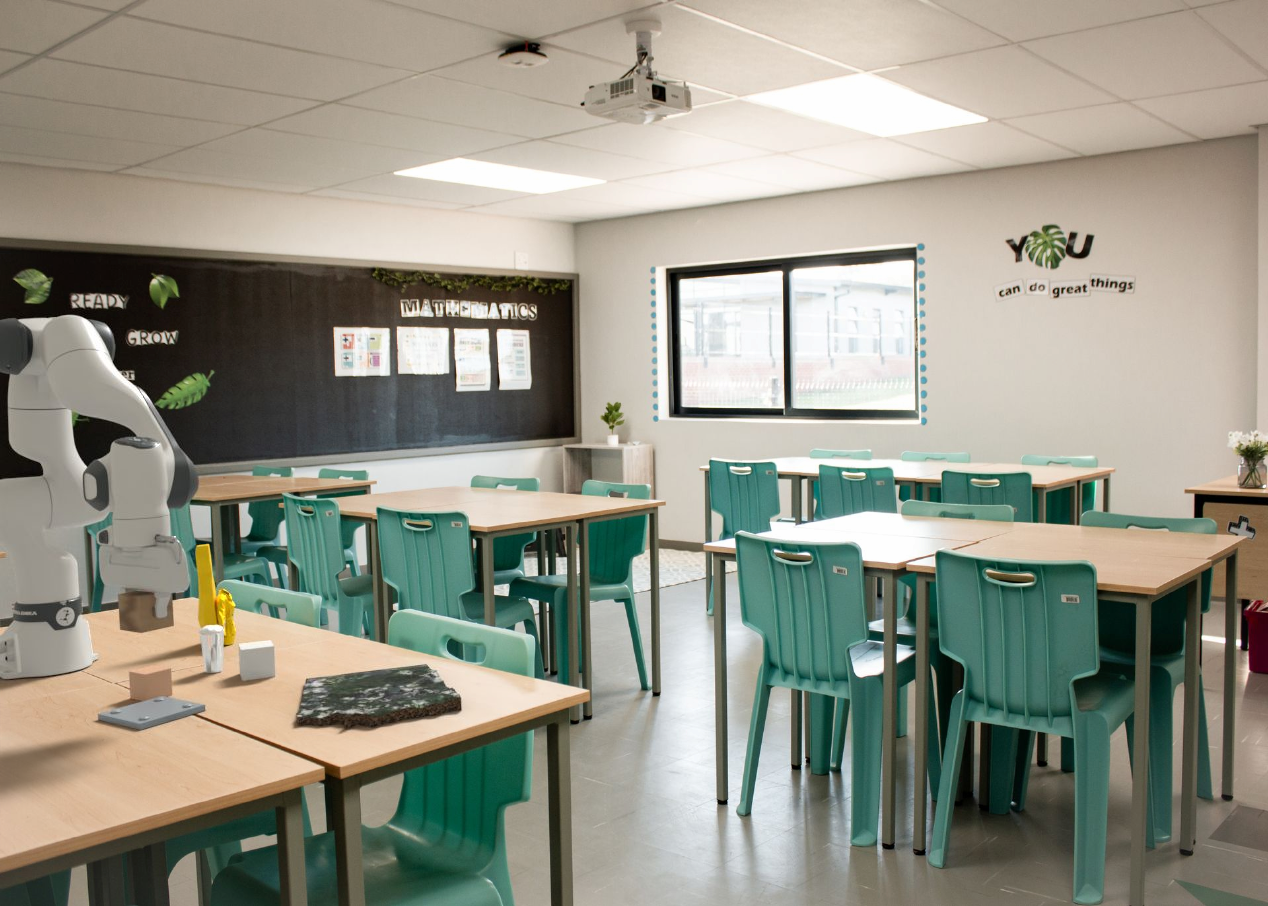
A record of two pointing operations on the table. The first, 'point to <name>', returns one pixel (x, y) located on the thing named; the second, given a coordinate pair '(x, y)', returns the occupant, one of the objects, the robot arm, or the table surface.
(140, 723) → the plate
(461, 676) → the table surface
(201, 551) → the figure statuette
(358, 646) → the table surface
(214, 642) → the milkshake
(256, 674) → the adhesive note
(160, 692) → the block
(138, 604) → the block
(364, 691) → the topographical map
